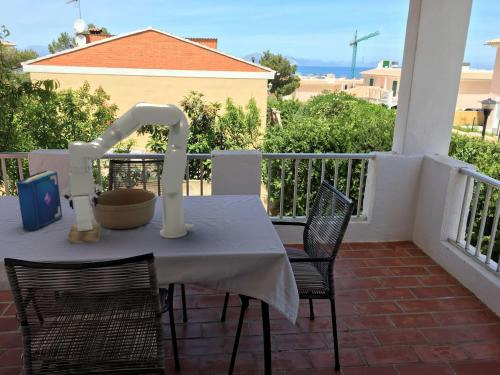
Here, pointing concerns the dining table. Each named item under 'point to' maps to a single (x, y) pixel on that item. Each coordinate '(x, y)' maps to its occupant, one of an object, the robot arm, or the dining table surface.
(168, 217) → the robot arm
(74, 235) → the tan flat block
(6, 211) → the dining table surface
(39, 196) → the book
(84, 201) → the skincare box
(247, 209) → the dining table surface
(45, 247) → the dining table surface
